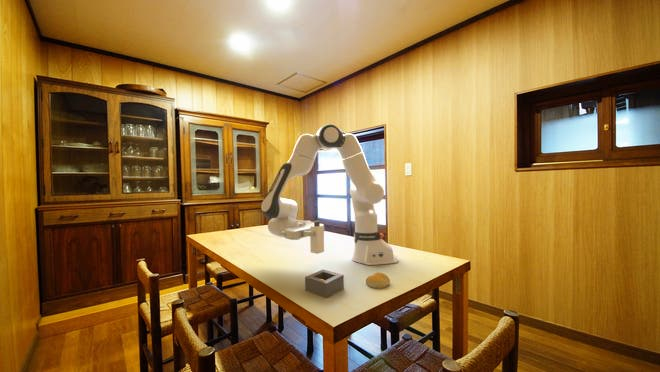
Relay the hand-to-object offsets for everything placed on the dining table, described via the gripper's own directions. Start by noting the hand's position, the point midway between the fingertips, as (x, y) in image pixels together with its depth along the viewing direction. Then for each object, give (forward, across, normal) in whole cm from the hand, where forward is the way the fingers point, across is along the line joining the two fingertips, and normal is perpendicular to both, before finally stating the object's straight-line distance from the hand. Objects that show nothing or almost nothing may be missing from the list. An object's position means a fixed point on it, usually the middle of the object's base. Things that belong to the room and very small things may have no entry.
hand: (318, 233), depth 110 cm
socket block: (+11, -9, +18) cm, 23 cm away
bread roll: (+24, +7, +18) cm, 31 cm away
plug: (-1, 0, +8) cm, 8 cm away
